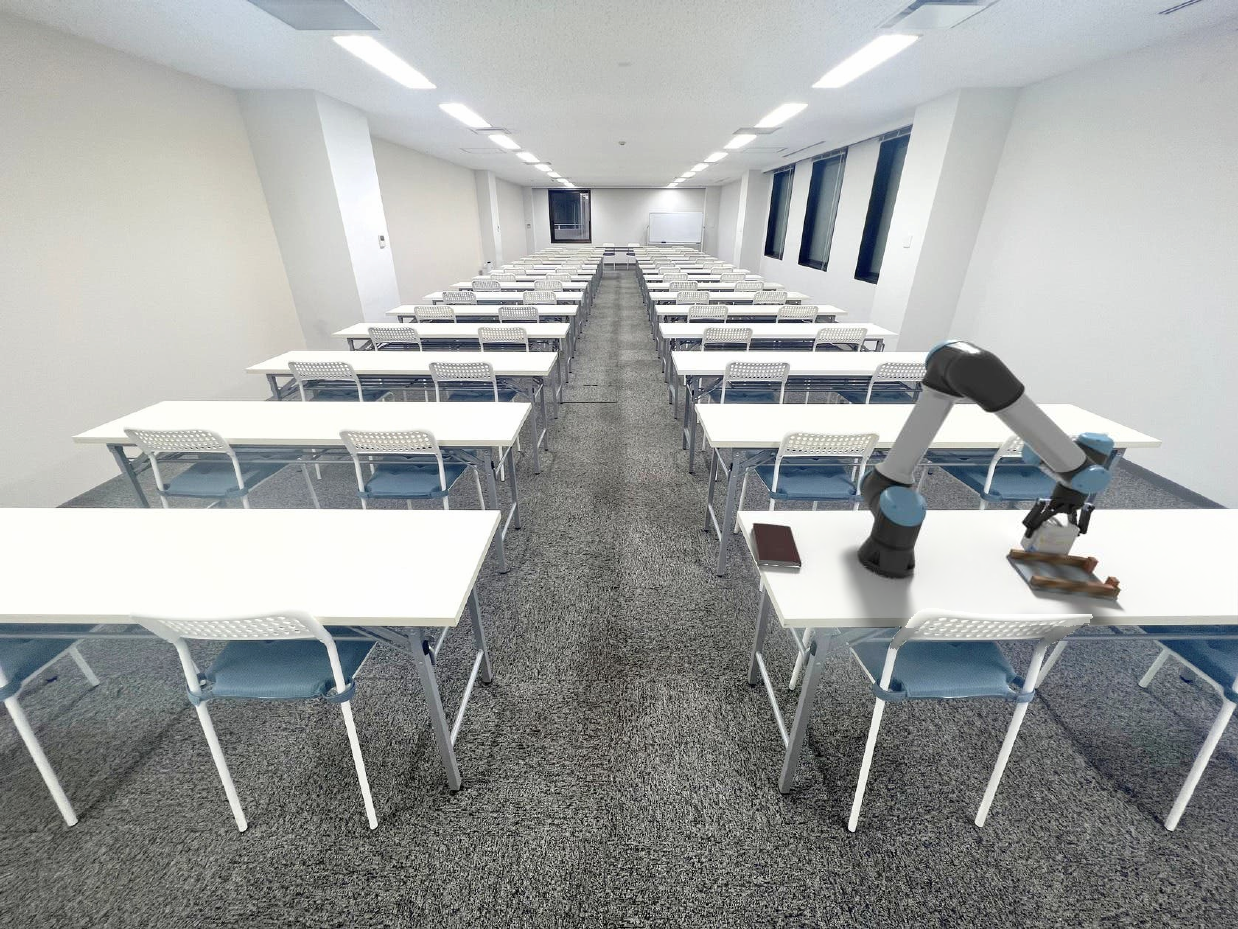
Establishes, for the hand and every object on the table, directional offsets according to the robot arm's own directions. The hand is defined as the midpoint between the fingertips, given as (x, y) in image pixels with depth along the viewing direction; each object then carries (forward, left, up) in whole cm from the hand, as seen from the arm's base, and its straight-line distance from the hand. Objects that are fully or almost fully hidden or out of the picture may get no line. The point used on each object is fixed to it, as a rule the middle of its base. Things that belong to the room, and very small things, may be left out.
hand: (1043, 548), depth 148 cm
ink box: (0, 0, -2) cm, 2 cm away
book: (-81, -17, -2) cm, 83 cm away
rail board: (-2, -13, -1) cm, 13 cm away
